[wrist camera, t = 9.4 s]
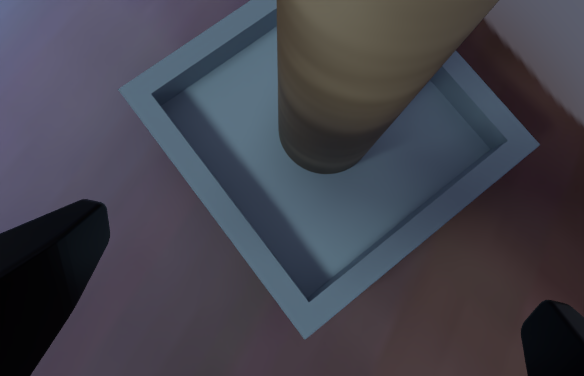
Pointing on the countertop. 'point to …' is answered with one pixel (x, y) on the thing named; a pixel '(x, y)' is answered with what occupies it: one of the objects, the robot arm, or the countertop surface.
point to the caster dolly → (312, 186)
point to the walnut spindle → (358, 69)
